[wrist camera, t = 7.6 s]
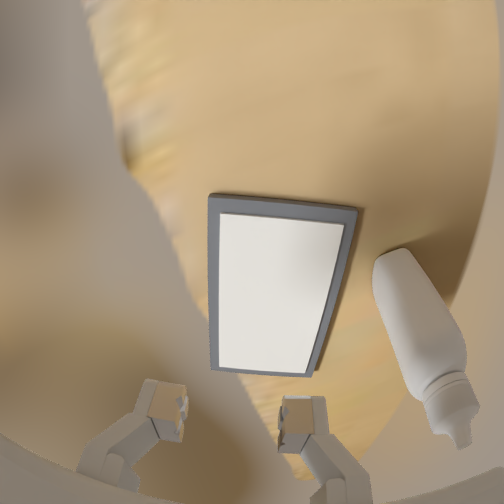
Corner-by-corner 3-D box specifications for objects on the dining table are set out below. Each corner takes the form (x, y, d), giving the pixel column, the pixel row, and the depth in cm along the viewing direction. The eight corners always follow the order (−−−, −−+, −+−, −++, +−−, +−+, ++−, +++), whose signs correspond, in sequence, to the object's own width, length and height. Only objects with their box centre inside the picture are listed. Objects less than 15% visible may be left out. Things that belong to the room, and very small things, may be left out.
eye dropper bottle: (436, 249, 17) (534, 397, 6) (407, 316, 20) (462, 462, 9) (378, 241, 17) (467, 418, 7) (354, 313, 20) (393, 479, 9)
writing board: (210, 193, 16) (207, 197, 16) (355, 207, 16) (358, 211, 16) (211, 364, 23) (210, 369, 23) (310, 371, 23) (311, 377, 22)
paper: (220, 212, 16) (220, 213, 16) (343, 223, 16) (343, 225, 16) (219, 364, 22) (219, 366, 22) (304, 371, 22) (304, 373, 22)
